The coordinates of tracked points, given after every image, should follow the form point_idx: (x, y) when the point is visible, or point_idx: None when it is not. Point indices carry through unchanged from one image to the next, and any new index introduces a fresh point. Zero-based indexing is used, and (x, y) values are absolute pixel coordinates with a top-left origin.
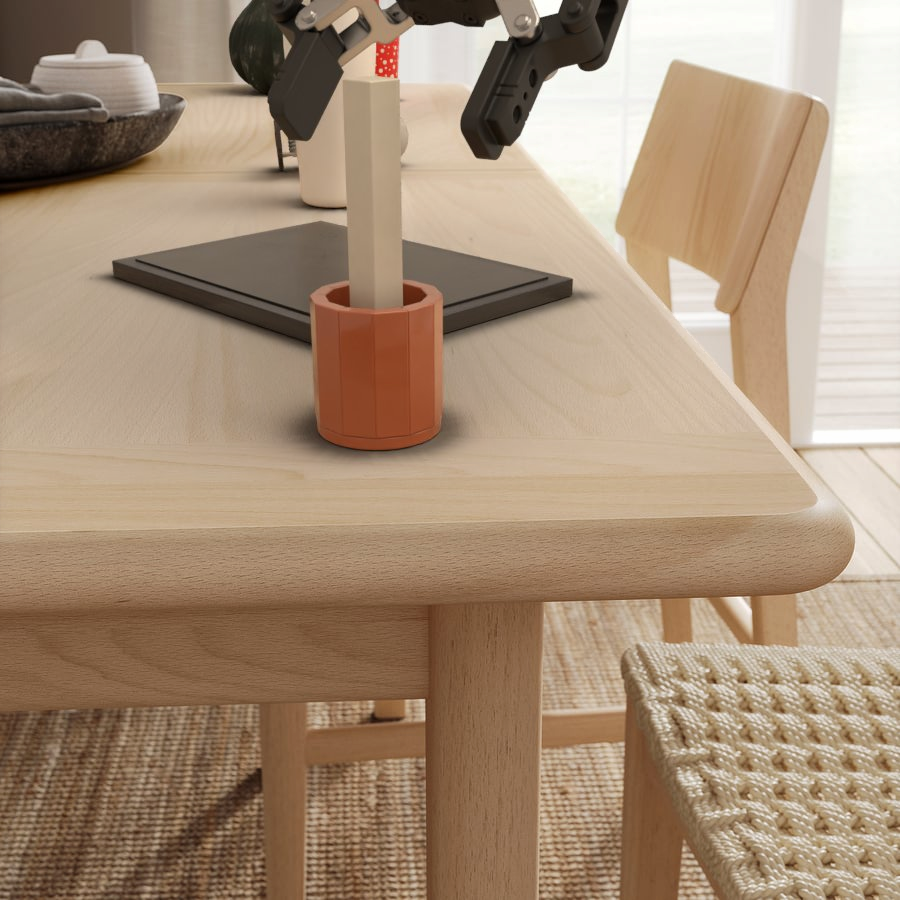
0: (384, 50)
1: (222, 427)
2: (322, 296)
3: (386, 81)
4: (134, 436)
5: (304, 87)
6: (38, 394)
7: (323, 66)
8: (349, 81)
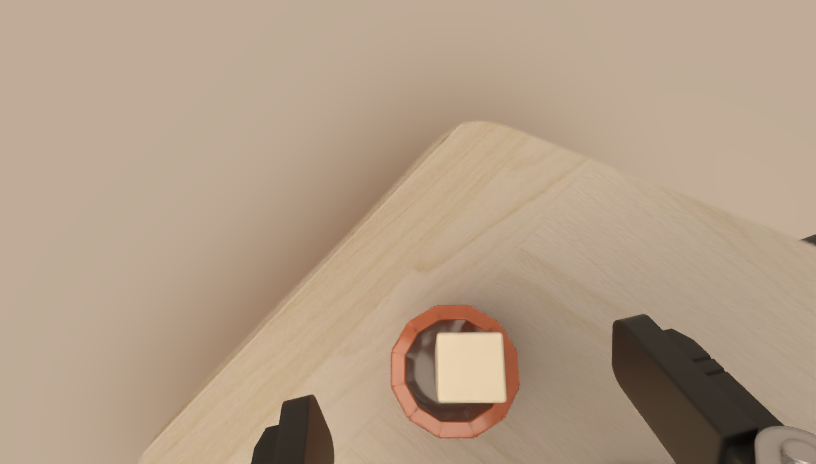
0: None
1: (531, 282)
2: (483, 325)
3: (437, 370)
4: (557, 227)
5: (648, 375)
6: (690, 219)
7: (691, 440)
8: (485, 333)
